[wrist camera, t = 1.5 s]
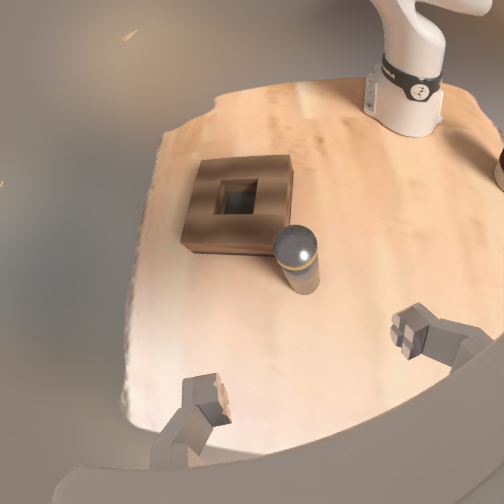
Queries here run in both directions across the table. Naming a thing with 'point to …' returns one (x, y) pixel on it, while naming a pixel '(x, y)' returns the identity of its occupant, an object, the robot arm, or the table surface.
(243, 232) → the post block
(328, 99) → the table surface
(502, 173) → the coffee cup
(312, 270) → the steel rod
